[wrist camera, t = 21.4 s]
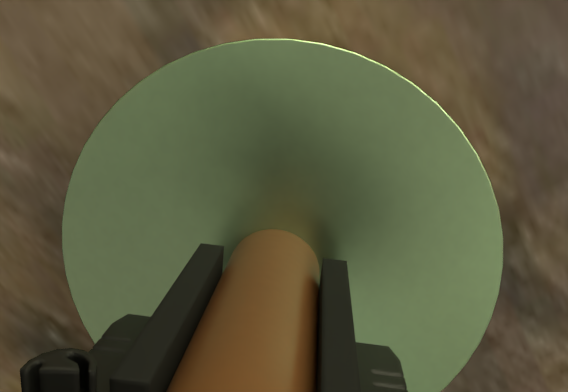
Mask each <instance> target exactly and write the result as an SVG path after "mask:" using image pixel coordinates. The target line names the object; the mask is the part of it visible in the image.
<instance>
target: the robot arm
mask: <svg viewBox="0 0 568 392" xmlns="http://www.w3.org/2000/svg"><path fill="white" fill-rule="evenodd" d="M223 254H224V246H220V245H211V244H203V243H201V244H200V245H199V247H198V248H197V249H196V251H195V252H194V254H193V255H192V257H191V258H190V260H189V261H188V263H187V264H186V266H185V267H184V269H183V270H182V272H181V273H180V275H179V276H178V278H177V279H176V280H175V282H174V283H173V285H172V286H171V288H170V289H169V291H168V292H167V294H166V295H165V297H164V298H163V300H162V301H161V303H160V304H159V306H158V307H157V309H156V310H155V312H154V313H153V314H152V316H151V317H149V316H141V315H134V314H127V315H125V316H124V317H122V318H120V319H119V320H117V321H115V322H114V323H112V324H111V325H110V326H109V328H108V329H107V330H106V331H105V333H104V334H103V335H102V337H101V339H99V340H98V341H97V343H96V344H95V345H94V346H93V349H91V350H90V351H89V352H86V351H84V350H79V349H73V348H68V349H56V350H53V351H49V352H46V353H42V354H40V355H39V356H37V357H35V358H33V359H31V360H29V361H28V362H27V363H26V364H25V365H24V366H23V367H22V368H21V369H20V376H21V388H22V392H166V391H167V389H168V387H169V385H170V383H171V380H172V378H173V376H174V374H175V372H176V370H177V368H178V366H179V364H180V362H181V360H182V357H183V355H184V353H185V351H186V349H187V347H188V345H189V343H190V341H191V339H192V337H193V334H194V332H195V330H196V328H197V326H198V324H199V322H200V320H201V318H202V316H203V314H204V311H205V309H206V307H207V305H208V303H209V301H210V299H211V297H212V295H213V293H214V291H215V288H216V286H217V284H218V282H219V280H220V278H221V276H222V271H223ZM316 392H408V390H407V386H406V382H405V378H404V374H403V370H402V366H401V362H400V359H399V358H398V357H397V356H396V355H395V353H394V352H393V351H392V350H391V349H390V347H389V346H382V345H374V344H367V343H359V342H356V341H355V332H354V322H353V313H352V304H351V295H350V286H349V277H348V267H347V261H344V260H335V259H327V258H323V261H322V269H321V276H320V284H319V304H318V343H317V382H316Z"/></svg>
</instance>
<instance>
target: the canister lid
mask: <svg viewBox="0 0 568 392" xmlns="http://www.w3.org/2000/svg"><path fill="white" fill-rule="evenodd" d="M201 243H203V244H211V245H220V246H224V254H223V271H222V276H221V278H220V280H219V282H218V284H217V286H216V288H215V291H214V293H213V295H212V297H211V299H210V301H209V303H208V305H207V307H206V309H205V311H204V314H203V316H202V318H201V320H200V322H199V324H198V326H197V328H196V330H195V332H194V334H193V337H192V339H191V341H190V343H189V345H188V347H187V349H186V351H185V353H184V355H183V357H182V360H181V362H180V364H179V366H178V368H177V370H176V372H175V374H174V376H173V378H172V380H171V383H170V385H169V387H168V389H167V391H166V392H316V382H317V343H318V304H319V284H320V276H321V269H322V261H323V258H327V259H335V260H344V261H347V267H348V277H349V286H350V295H351V304H352V313H353V322H354V332H355V341H356V342H359V343H367V344H374V345H382V346H389V347H390V349H391V350H392V351H393V352H394V353H395V355H396V356H397V357H398V358H399V359H400V362H401V366H402V370H403V374H404V378H405V382H406V386H407V390H408V392H441V391H442V390H443V389H444V388H445V387H446V386H448V385H449V384H450V382H451V381H452V380H453V379H454V378H455V377H456V375H457V374H458V373H459V372H460V371H461V370H462V368H463V367H464V366H465V365H466V364H467V362H468V360H469V359H470V357H471V356H472V354H473V353H474V351H475V350H476V348H477V347H478V345H479V343H480V342H481V339H482V337H483V335H484V333H485V331H486V329H487V327H488V324H489V322H490V320H491V318H492V314H493V311H494V308H495V304H496V301H497V298H498V294H499V289H500V283H501V276H502V269H503V233H502V226H501V220H500V213H499V207H498V204H497V201H496V198H495V194H494V191H493V188H492V184H491V181H490V179H489V177H488V175H487V173H486V170H485V168H484V166H483V164H482V162H481V160H480V158H479V156H478V154H477V152H476V150H475V149H474V147H473V146H472V144H471V143H470V141H469V140H468V139H467V137H466V136H465V134H464V133H463V131H462V130H461V128H460V127H459V126H458V125H457V123H456V122H455V121H454V120H453V119H452V118H451V117H450V116H449V115H448V113H447V112H446V111H445V110H444V109H443V108H442V107H441V106H440V105H439V103H437V102H436V101H435V100H434V99H432V98H431V97H430V96H429V95H428V94H426V93H425V92H424V91H423V90H422V89H420V88H419V87H418V86H417V85H416V84H414V83H413V82H412V81H410V80H408V79H407V78H405V77H403V76H402V75H400V74H399V73H397V72H395V71H394V70H392V69H390V68H389V67H387V66H386V65H383V64H381V63H379V62H376V61H374V60H372V59H370V58H367V57H365V56H363V55H361V54H358V53H356V52H353V51H349V50H346V49H342V48H339V47H335V46H332V45H328V44H325V43H319V42H312V41H305V40H297V39H290V38H267V39H250V40H243V41H236V42H229V43H223V44H220V45H216V46H213V47H209V48H206V49H203V50H199V51H196V52H193V53H191V54H188V55H186V56H184V57H182V58H180V59H177V60H175V61H173V62H171V63H168V64H166V65H164V66H163V67H161V68H160V69H158V70H157V71H155V72H154V73H152V74H150V75H149V76H147V77H146V78H144V79H143V80H141V81H140V82H138V83H137V84H136V85H135V86H134V87H133V88H131V89H130V90H129V91H128V92H127V93H126V94H125V95H123V96H122V97H121V98H120V99H119V100H118V101H117V102H116V103H115V104H114V105H113V106H112V108H111V109H110V110H109V111H108V112H107V113H106V115H105V116H104V117H103V118H102V119H101V120H100V122H99V123H98V124H97V126H96V128H95V129H94V131H93V132H92V134H91V136H90V137H89V139H88V140H87V142H86V143H85V145H84V147H83V149H82V151H81V154H80V156H79V158H78V160H77V163H76V165H75V167H74V169H73V172H72V176H71V179H70V183H69V186H68V190H67V193H66V197H65V204H64V212H63V219H62V252H63V259H64V266H65V273H66V277H67V281H68V285H69V288H70V292H71V295H72V299H73V301H74V304H75V306H76V308H77V311H78V313H79V316H80V318H81V320H82V323H83V324H84V326H85V328H86V330H87V331H88V333H89V335H90V337H91V338H92V340H93V342H94V344H96V343H97V341H98V340H99V339H101V337H102V335H103V334H104V333H105V331H106V330H107V329H108V328H109V326H110V325H111V324H112V323H114V322H115V321H117V320H119V319H120V318H122V317H124V316H125V315H127V314H134V315H141V316H149V317H151V316H152V314H153V313H154V312H155V310H156V309H157V307H158V306H159V304H160V303H161V301H162V300H163V298H164V297H165V295H166V294H167V292H168V291H169V289H170V288H171V286H172V285H173V283H174V282H175V280H176V279H177V278H178V276H179V275H180V273H181V272H182V270H183V269H184V267H185V266H186V264H187V263H188V261H189V260H190V258H191V257H192V255H193V254H194V252H195V251H196V249H197V248H198V247H199V245H200V244H201Z"/></svg>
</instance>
